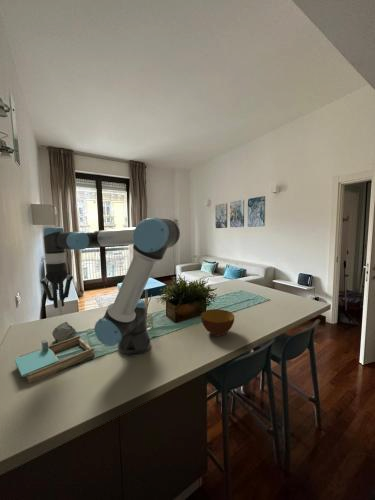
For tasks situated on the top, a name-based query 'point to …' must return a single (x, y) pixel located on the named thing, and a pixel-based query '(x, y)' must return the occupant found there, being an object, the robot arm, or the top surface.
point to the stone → (63, 332)
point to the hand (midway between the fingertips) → (59, 314)
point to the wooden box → (62, 363)
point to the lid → (36, 360)
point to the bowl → (217, 321)
